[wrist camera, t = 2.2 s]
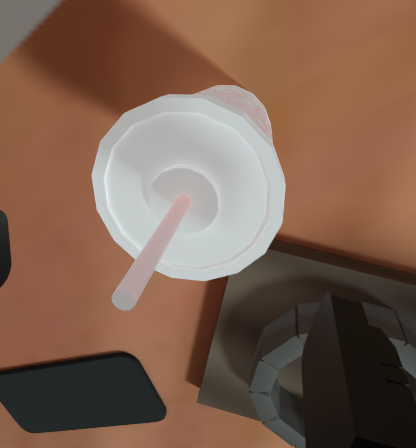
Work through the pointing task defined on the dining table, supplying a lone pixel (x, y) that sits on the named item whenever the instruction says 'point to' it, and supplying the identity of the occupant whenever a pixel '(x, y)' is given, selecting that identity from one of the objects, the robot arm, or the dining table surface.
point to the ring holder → (295, 330)
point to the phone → (81, 394)
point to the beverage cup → (189, 187)
